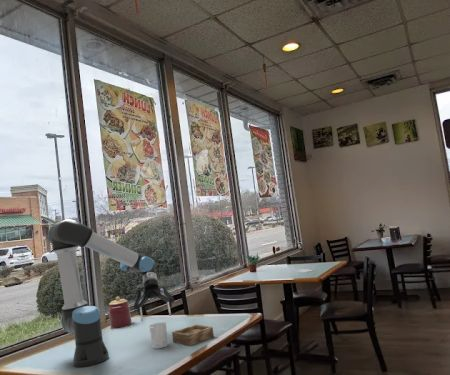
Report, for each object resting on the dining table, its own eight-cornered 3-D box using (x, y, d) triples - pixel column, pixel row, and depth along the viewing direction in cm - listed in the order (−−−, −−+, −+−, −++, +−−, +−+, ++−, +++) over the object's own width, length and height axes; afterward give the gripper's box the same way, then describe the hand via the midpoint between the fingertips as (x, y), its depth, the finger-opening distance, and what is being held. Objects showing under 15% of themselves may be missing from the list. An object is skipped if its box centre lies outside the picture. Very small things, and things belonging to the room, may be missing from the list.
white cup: (170, 342, 192) (167, 321, 193) (166, 347, 185) (163, 325, 186) (154, 344, 193) (151, 323, 194) (149, 350, 185) (147, 327, 186)
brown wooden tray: (189, 345, 182) (187, 335, 183) (173, 341, 193) (172, 332, 194) (213, 336, 191) (212, 327, 192) (197, 333, 202) (196, 324, 202)
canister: (108, 326, 253) (105, 297, 255) (129, 321, 259) (126, 293, 260) (112, 329, 241) (108, 299, 243) (133, 324, 247) (130, 295, 249)
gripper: (125, 282, 208) (129, 317, 192) (173, 274, 214) (181, 307, 198) (127, 291, 212) (130, 326, 197) (174, 283, 219) (181, 316, 203)
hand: (156, 317), depth 197 cm, fingers open, 13 cm apart
